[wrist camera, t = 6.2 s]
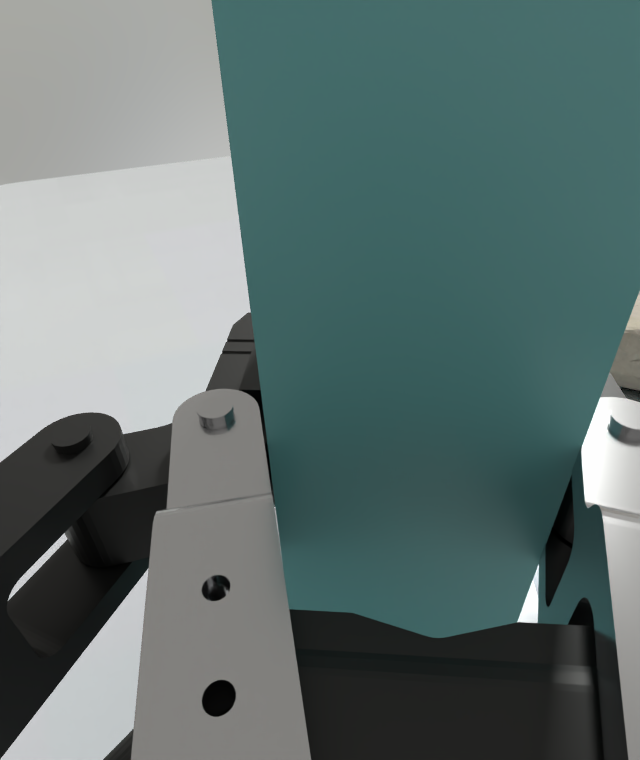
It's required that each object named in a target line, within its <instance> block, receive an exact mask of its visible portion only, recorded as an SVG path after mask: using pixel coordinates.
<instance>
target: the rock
mask: <svg viewBox="0 0 640 760" xmlns="http://www.w3.org/2000/svg"><path fill="white" fill-rule="evenodd" d="M610 373H611V375H612V376H613V378H614V379H615V381H616V383H617V384H618V386H619V387H624V388H629V389H634V390H639V391H640V291H639V294H638V296H637V299H636V302H635V305H634V307H633V310H632V313H631V315H630V318H629V321H628V323H627V326H626V329H625V332H624V334H623V337H622V340H621V342H620V345H619V348H618V351H617V353H616V356H615V359H614V361H613V364H612V367H611V370H610Z"/></svg>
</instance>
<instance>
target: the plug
mask: <svg viewBox="0 0 640 760" xmlns="http://www.w3.org/2000/svg"><path fill="white" fill-rule="evenodd" d="M212 8H213V16H214V23H215V31H216V39H217V47H218V55H219V63H220V71H221V79H222V87H223V95H224V102H225V110H226V119H227V126H228V135H229V142H230V150H231V158H232V166H233V174H234V182H235V190H236V198H237V206H238V214H239V222H240V230H241V238H242V246H243V253H244V261H245V269H246V277H247V285H248V293H249V301H250V309H251V317H252V325H253V333H254V341H255V349H256V357H257V364H258V372H259V380H260V388H261V396H262V404H263V412H264V420H265V428H266V436H267V444H268V452H269V460H270V468H271V475H272V483H273V491H274V499H275V507H276V515H277V523H278V531H279V539H280V547H281V555H282V563H283V571H284V578H285V585H286V591H287V598H288V605H289V609H295V610H313V611H331V612H349V613H355V614H358V615H361V616H364V617H367V618H371V619H374V620H377V621H380V622H383V623H387V624H390V625H393V626H396V627H399V628H402V629H406V630H409V631H412V632H415V633H418V634H422V635H425V636H428V637H433V638H444V637H450V636H454V635H459V634H464V633H469V632H473V631H478V630H483V629H488V628H493V627H497V626H502V625H507V624H512V623H516V622H517V621H518V619H519V616H520V613H521V611H522V608H523V605H524V603H525V600H526V597H527V594H528V592H529V589H530V586H531V584H532V581H533V578H534V575H535V573H536V570H537V567H538V565H539V559H540V556H541V553H542V551H543V548H544V545H545V543H547V540H548V537H549V535H550V532H551V529H552V527H553V524H554V521H555V519H556V516H557V513H558V510H559V508H560V505H561V502H562V500H563V497H564V494H565V491H566V489H567V486H568V483H569V481H570V478H571V475H572V469H573V466H574V464H575V461H576V458H577V455H578V453H579V450H580V447H581V446H582V445H583V443H584V440H585V437H586V435H587V432H588V429H589V426H590V424H591V421H592V418H593V416H594V413H595V410H596V407H597V405H598V402H599V399H600V397H601V394H602V391H603V388H604V386H605V383H606V380H607V378H608V375H609V372H610V370H611V367H612V364H613V361H614V359H615V356H616V353H617V351H618V348H619V345H620V342H621V340H622V337H623V334H624V332H625V329H626V326H627V323H628V321H629V318H630V315H631V313H632V310H633V307H634V305H635V302H636V299H637V296H638V294H639V291H640V0H212Z"/></svg>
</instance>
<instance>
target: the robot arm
mask: <svg viewBox="0 0 640 760" xmlns="http://www.w3.org/2000/svg"><path fill="white" fill-rule="evenodd" d="M274 507H275V499H274V491H273V483H272V475H271V468H270V460H269V452H268V444H267V436H266V428H265V420H264V412H263V404H262V396H261V388H260V380H259V372H258V364H257V357H256V349H255V341H254V333H253V325H252V317H251V313H247V314H246V315H245V316H243V317H242V318H241V319H240V320H239V321H237V322H236V323H235V324H234V325H233V327H232V329H231V331H230V334H229V336H228V339H227V342H226V343H225V346H224V348H223V351H222V354H221V355H220V358H219V360H218V363H217V365H216V367H215V370H214V372H213V375H212V377H211V379H210V382H209V384H208V387H207V389H206V391H205V392H202V393H200V394H197V395H195V396H193V397H191V398H189V399H188V400H186V401H185V402H184V403H183V404H182V405H181V406H180V407H179V408H178V409H177V410H176V412H175V414H174V417H173V422H172V423H171V424H168V425H165V426H162V427H158V428H153V429H148V430H143V431H138V432H133V433H128V434H123V433H122V430H121V427H120V425H119V423H118V422H117V421H116V420H115V419H114V418H113V417H111V416H109V415H106V414H102V413H81V414H76V415H71V416H68V417H65V418H62V419H60V420H58V421H56V422H53V423H52V424H50V425H48V426H47V427H45V428H44V429H42V430H41V431H40V432H38V433H37V434H36V435H35V436H33V437H32V438H31V439H30V440H28V441H27V442H26V443H24V444H23V445H22V446H21V447H19V448H18V449H17V450H16V451H14V452H13V453H12V454H11V455H9V456H8V457H7V458H6V459H4V460H3V461H2V462H1V463H0V759H1V757H2V756H3V755H4V754H5V752H6V751H7V750H8V748H9V747H10V746H11V745H12V743H13V742H14V741H15V739H16V738H17V737H18V736H19V734H20V733H21V732H22V730H23V729H24V728H25V727H26V725H27V724H28V723H29V721H30V720H31V719H32V717H33V716H34V715H35V714H36V712H37V711H38V710H39V708H40V707H41V706H42V705H43V703H44V702H45V701H46V699H47V698H48V697H49V696H50V694H51V693H52V692H53V690H54V689H55V688H56V687H57V685H58V684H59V683H60V681H61V680H62V679H63V677H64V676H65V675H66V674H67V672H68V671H69V670H70V668H71V667H72V666H73V665H74V663H75V662H76V661H77V659H78V658H79V657H80V656H81V654H82V653H83V652H84V650H85V649H86V648H87V647H88V645H89V644H90V643H91V641H92V640H93V639H94V637H95V636H96V635H97V634H98V632H99V631H100V630H101V628H102V627H103V626H104V625H105V623H106V622H107V621H108V619H109V618H110V617H111V616H112V614H113V613H114V612H115V610H116V609H117V608H118V607H119V605H120V604H121V603H122V601H123V600H124V599H125V597H126V596H127V595H128V594H129V592H130V591H131V590H132V588H133V587H134V586H135V585H136V583H137V582H138V581H139V579H140V578H141V577H142V576H143V574H144V573H145V572H146V570H147V569H148V568H149V570H148V581H147V591H146V602H145V613H144V624H143V635H142V645H141V656H140V667H139V678H138V688H137V699H136V710H135V721H134V729H133V730H132V731H131V732H130V733H129V734H128V735H127V736H126V737H125V738H124V739H123V740H122V741H121V742H120V743H119V744H118V745H117V746H116V747H115V748H114V749H113V750H112V751H111V752H110V753H109V754H108V755H107V756H106V757H105V758H104V759H103V760H640V402H637V401H634V400H630V399H627V398H626V397H625V395H624V393H623V392H622V390H621V389H620V387H619V386H618V384H617V383H616V381H615V379H614V378H613V376H612V375H611V373H610V372H609V375H608V378H607V380H606V383H605V386H604V388H603V391H602V394H601V397H600V399H599V402H598V405H597V407H596V410H595V413H594V416H593V418H592V421H591V424H590V426H589V429H588V432H587V435H586V437H585V440H584V443H583V445H582V446H581V447H580V450H579V453H578V455H577V458H576V461H575V464H574V466H573V469H572V475H571V478H570V481H569V483H568V486H567V489H566V491H565V494H564V497H563V500H562V502H561V505H560V508H559V510H558V513H557V516H556V519H555V521H554V524H553V527H552V529H551V532H550V535H549V537H548V540H547V543H545V545H544V548H543V551H542V553H541V556H540V559H539V580H538V622H537V623H527V622H516V623H512V624H507V625H502V626H497V627H493V628H488V629H483V630H478V631H473V632H469V633H464V634H459V635H454V636H450V637H444V638H433V637H428V636H425V635H422V634H418V633H415V632H412V631H409V630H406V629H402V628H399V627H396V626H393V625H390V624H387V623H383V622H380V621H377V620H374V619H371V618H367V617H364V616H361V615H358V614H355V613H349V612H331V611H313V610H295V609H289V605H288V598H287V591H286V585H285V578H284V571H283V564H282V557H281V550H280V544H279V537H278V530H277V523H276V516H275V509H274ZM64 533H65V535H66V537H67V540H66V542H65V543H64V544H63V545H62V546H61V547H60V548H59V549H58V550H57V551H56V552H55V553H54V554H53V555H52V556H51V557H50V558H49V559H48V560H47V561H46V562H45V563H44V564H43V565H42V566H41V567H40V569H39V570H38V571H37V572H36V573H35V574H34V575H33V576H32V577H31V578H30V579H29V580H28V581H27V582H26V583H25V584H24V585H23V586H22V587H21V588H20V589H19V590H18V591H17V592H16V593H15V595H14V596H13V597H12V598H11V599H10V600H9V601H8V598H9V595H10V593H11V591H12V589H13V587H14V585H15V584H16V583H17V581H18V580H19V579H20V578H21V577H22V576H23V575H24V574H25V573H26V572H27V570H28V569H29V568H30V567H31V566H32V565H33V564H34V563H35V562H36V561H37V560H38V559H39V558H40V557H41V556H42V555H43V554H44V553H45V552H46V551H47V550H48V549H49V548H50V547H51V546H52V545H53V544H54V543H55V542H56V541H57V540H58V539H59V538H60V537H61V536H62V535H63V534H64Z"/></svg>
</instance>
